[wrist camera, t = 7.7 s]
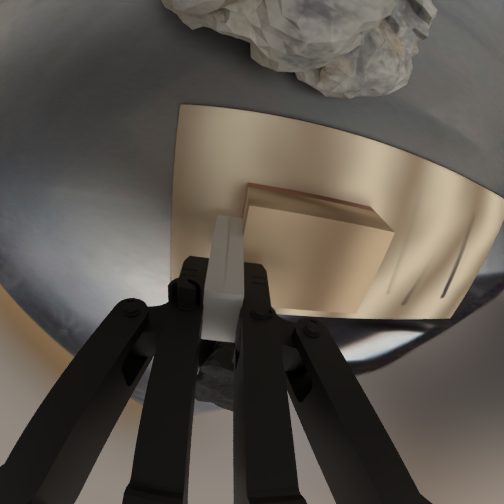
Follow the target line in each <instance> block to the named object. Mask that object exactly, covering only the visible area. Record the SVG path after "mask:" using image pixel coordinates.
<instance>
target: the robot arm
mask: <svg viewBox="0 0 504 504" xmlns="http://www.w3.org/2000/svg"><path fill="white" fill-rule="evenodd" d="M267 278H268V277H267V271H266V269H265V268H264V267H263V265H262V264H257V263H249V262H244V255H243V218H237V217H230V216H222V215H217V219H216V224H215V229H214V235H213V240H212V246H211V251H210V257H209V258H204V257H197V256H189V257H188V258H187V259H185V260H184V262H183V265H182V269H181V272H180V275H179V278H176V279H174V280H172V281H171V282H170V284H169V285H168V300H169V302H167V303H166V304H163V305H160V306H153V307H148V306H147V305H146V304H145V302H143V301H141V300H140V299H135V298H128V299H125V300H122V301H120V302H119V303H118V304H117V305H116V306H115V307H114V308H113V309H112V311H111V312H110V313H109V314H108V315H107V317H106V318H105V319H104V320H103V322H102V323H101V324H100V325H99V327H98V328H97V329H96V330H95V332H94V333H93V334H92V335H91V337H90V338H89V339H88V340H87V342H86V343H85V344H84V345H83V347H82V348H81V349H80V351H79V352H78V353H77V355H76V356H75V357H74V359H73V360H72V361H71V363H70V364H69V365H68V367H67V368H66V369H65V371H64V372H63V373H62V375H61V376H60V378H59V379H58V380H57V382H56V383H55V385H54V386H53V387H52V389H51V390H50V392H49V393H48V395H47V396H46V398H45V399H44V400H43V402H42V404H41V405H40V406H39V408H38V409H37V411H36V413H35V414H34V416H33V417H32V419H31V420H30V422H29V423H28V425H27V427H26V428H25V430H24V431H23V433H22V435H21V437H20V438H19V440H18V441H17V443H16V445H15V446H14V448H13V450H12V452H11V453H10V455H9V457H8V459H7V461H6V462H5V464H4V465H2V466H1V467H0V504H74V503H75V501H76V499H77V498H78V496H79V494H80V492H81V490H82V488H83V486H84V484H85V482H86V480H87V478H88V476H89V474H90V472H91V470H92V468H93V466H94V464H95V462H96V460H97V458H98V456H99V454H100V452H101V450H102V448H103V447H104V445H105V443H106V441H107V439H108V437H109V435H110V433H111V432H112V429H113V428H114V426H115V424H116V422H117V420H118V419H119V417H120V415H121V413H122V411H123V409H124V407H125V406H126V404H127V402H128V400H129V399H130V397H131V395H132V393H133V391H134V390H135V388H136V386H137V384H138V382H139V381H140V379H141V377H142V375H143V374H144V372H145V370H146V368H147V367H148V365H149V363H150V361H151V360H152V358H153V356H154V360H153V364H152V368H151V372H150V377H149V381H148V386H147V390H146V395H145V400H144V404H143V409H142V415H141V420H140V425H139V430H138V436H137V442H136V448H135V454H134V460H133V468H132V474H131V480H130V483H129V484H128V486H127V487H126V489H125V492H124V497H123V502H122V504H188V478H189V463H190V448H191V435H192V423H193V422H192V421H193V411H194V401H195V390H196V380H197V371H198V362H199V353H200V341H201V339H206V340H215V341H223V342H233V343H235V345H236V346H235V350H234V355H233V360H232V363H234V395H233V457H234V458H233V460H234V461H233V466H234V467H233V468H234V504H307V503H306V500H305V499H304V498H303V496H302V495H301V494H300V492H299V488H298V479H297V470H296V461H295V452H294V444H293V435H292V427H291V420H290V410H289V403H288V395H287V391H288V393H289V395H290V398H291V400H292V403H293V405H294V408H295V410H296V412H297V415H298V417H299V419H300V421H301V424H302V426H303V429H304V431H305V433H306V436H307V438H308V440H309V443H310V445H311V447H312V450H313V452H314V454H315V457H316V459H317V461H318V464H319V466H320V468H321V470H322V472H323V475H324V477H325V479H326V482H327V484H328V486H329V488H330V491H331V493H332V495H333V497H334V499H335V502H336V504H432V503H431V502H429V501H428V500H427V499H426V498H424V497H423V496H422V495H421V494H420V493H419V491H418V489H417V487H416V485H415V483H414V481H413V480H412V478H411V476H410V474H409V472H408V470H407V468H406V467H405V465H404V463H403V461H402V459H401V457H400V455H399V453H398V452H397V450H396V448H395V446H394V444H393V442H392V441H391V439H390V437H389V435H388V433H387V432H386V430H385V428H384V426H383V425H382V423H381V421H380V419H379V417H378V415H377V414H376V412H375V410H374V408H373V407H372V405H371V404H370V402H369V400H368V398H367V396H366V394H365V393H364V391H363V389H362V387H361V386H360V384H359V382H358V380H357V379H356V377H355V375H354V374H353V372H352V370H351V368H350V367H349V365H348V363H347V362H346V360H345V358H344V356H343V355H342V353H341V351H340V350H339V348H338V346H337V345H336V343H335V341H334V340H333V338H332V336H331V335H330V333H329V331H328V330H327V328H326V327H325V326H324V324H323V323H321V322H320V321H318V320H316V319H313V318H303V319H300V320H299V321H298V322H297V323H293V322H289V321H286V320H284V319H282V318H280V317H279V316H277V314H276V312H275V310H274V309H273V308H272V307H271V300H270V293H269V285H268V279H267Z"/></svg>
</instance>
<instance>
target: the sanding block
mask: <svg viewBox="0 0 504 504" xmlns="http://www.w3.org/2000/svg"><path fill="white" fill-rule="evenodd" d="M242 218H243V255H244V262H249V263H257V264H262V265H263V267H264V268H265V269H266V271H267V277H268V278H267V279H268V285H269V293H270V300H271V307H275V308H286V309H298V310H310V311H323V312H339V313H356V312H357V310H358V309H359V307H360V305H361V303H362V301H363V299H364V297H365V295H366V293H367V291H368V289H369V288H370V286H371V284H372V282H373V279H374V277H375V275H376V273H377V271H378V269H379V267H380V265H381V263H382V261H383V258H384V256H385V254H386V252H387V250H388V247H389V245H390V243H391V241H392V238H393V236H394V233H395V232H394V231H393V230H392V229H391V228H390V227H389V225H388V224H387V223H386V222H385V221H384V220H383V219H382V218H381V217H380V216H379V215H378V214H377V213H376V212H375V211H374V210H373V209H372V208H371V207H369V206H365V205H361V204H357V203H353V202H348V201H344V200H339V199H335V198H330V197H325V196H320V195H316V194H311V193H306V192H300V191H295V190H290V189H284V188H279V187H273V186H267V185H261V184H255V183H249V182H248V185H247V190H246V195H245V201H244V206H243V212H242Z"/></svg>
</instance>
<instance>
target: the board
mask: <svg viewBox="0 0 504 504" xmlns="http://www.w3.org/2000/svg"><path fill="white" fill-rule="evenodd" d="M248 182H249V183H255V184H261V185H267V186H273V187H279V188H284V189H290V190H295V191H300V192H306V193H311V194H316V195H320V196H325V197H330V198H335V199H339V200H344V201H348V202H353V203H357V204H361V205H365V206H369V207H371V208H372V209H373V210H374V211H375V212H376V213H377V214H378V215H379V216H380V217H381V218H382V219H383V220H384V221H385V222H386V223H387V224H388V225H389V227H390V228H391V229H392V230H393V231H394V232H395V233H394V236H393V238H392V241H391V243H390V245H389V247H388V250H387V252H386V254H385V256H384V258H383V261H382V263H381V265H380V267H379V269H378V271H377V273H376V275H375V277H374V279H373V282H372V284H371V286H370V288H369V289H368V291H367V293H366V295H365V297H364V299H363V301H362V303H361V305H360V307H359V309H358V310H357V312H356V313H339V312H323V311H310V310H298V309H286V308H275V307H272V308H273V309H274V310H275V312H276V314H285V315H300V316H316V317H336V318H364V319H442V318H451V316H452V315H453V313H454V312H455V310H456V309H457V307H458V306H459V304H460V302H461V301H462V299H463V298H464V296H465V294H466V293H467V291H468V290H469V288H470V286H471V284H472V283H473V281H474V279H475V277H476V276H477V274H478V272H479V270H480V268H481V266H482V265H483V263H484V261H485V259H486V257H487V255H488V253H489V251H490V249H491V247H492V245H493V242H494V240H495V238H496V236H497V234H498V231H499V229H500V227H501V224H502V222H503V219H504V198H502V197H500V196H499V195H497V194H495V193H494V192H492V191H490V190H488V189H486V188H485V187H483V186H481V185H479V184H477V183H475V182H473V181H471V180H469V179H468V178H466V177H464V176H461V175H459V174H457V173H455V172H453V171H451V170H449V169H447V168H445V167H442V166H440V165H438V164H436V163H433V162H431V161H429V160H426V159H424V158H421V157H419V156H416V155H414V154H411V153H409V152H406V151H404V150H401V149H398V148H395V147H393V146H390V145H387V144H384V143H381V142H378V141H375V140H372V139H369V138H366V137H363V136H359V135H356V134H353V133H349V132H346V131H342V130H339V129H335V128H331V127H327V126H323V125H319V124H315V123H311V122H307V121H302V120H298V119H293V118H288V117H283V116H278V115H272V114H266V113H260V112H254V111H247V110H240V109H233V108H224V107H215V106H204V105H192V104H180V110H179V118H178V128H177V137H176V148H175V160H174V174H173V191H172V214H171V281H172V280H174V279H176V278H179V275H180V272H181V269H182V265H183V262H184V260H185V259H187V258H188V257H189V256H197V257H204V258H209V257H210V251H211V246H212V240H213V235H214V229H215V224H216V219H217V215H222V216H230V217H237V218H242V212H243V206H244V201H245V195H246V190H247V185H248Z"/></svg>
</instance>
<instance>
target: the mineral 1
mask: <svg viewBox="0 0 504 504" xmlns="http://www.w3.org/2000/svg"><path fill="white" fill-rule="evenodd" d="M235 346H236V345H235V343H233V342H223V341H217V342H216V343H215V346H214V350H213V353H212V354H211V355H210V356H209V357H208V359H207V360H206V361H205V363H204V364H203V365H202V366H201V368H200V371H199V373H198V375H197V380H196V390H195V399H196V400H198V401H204V402H212V403H214V404H216V405H217V406H219V407H221V408H224V409H227V410H231V411H233V395H234V363H232V360H233V355H234V350H235Z"/></svg>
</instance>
